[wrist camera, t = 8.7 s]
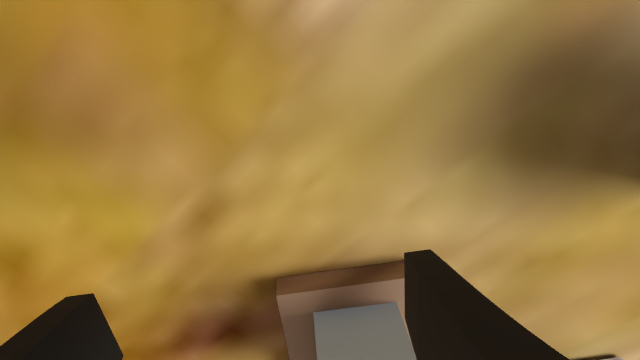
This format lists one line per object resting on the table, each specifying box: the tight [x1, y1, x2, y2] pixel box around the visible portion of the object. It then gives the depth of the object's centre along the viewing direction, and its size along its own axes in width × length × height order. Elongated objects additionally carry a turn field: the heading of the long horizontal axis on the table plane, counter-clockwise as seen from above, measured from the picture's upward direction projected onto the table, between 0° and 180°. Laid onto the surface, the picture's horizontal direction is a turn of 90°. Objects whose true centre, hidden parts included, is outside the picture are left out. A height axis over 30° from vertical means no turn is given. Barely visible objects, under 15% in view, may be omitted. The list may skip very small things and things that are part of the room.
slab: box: [276, 261, 414, 360], centre depth 23 cm, size 8×8×2 cm
